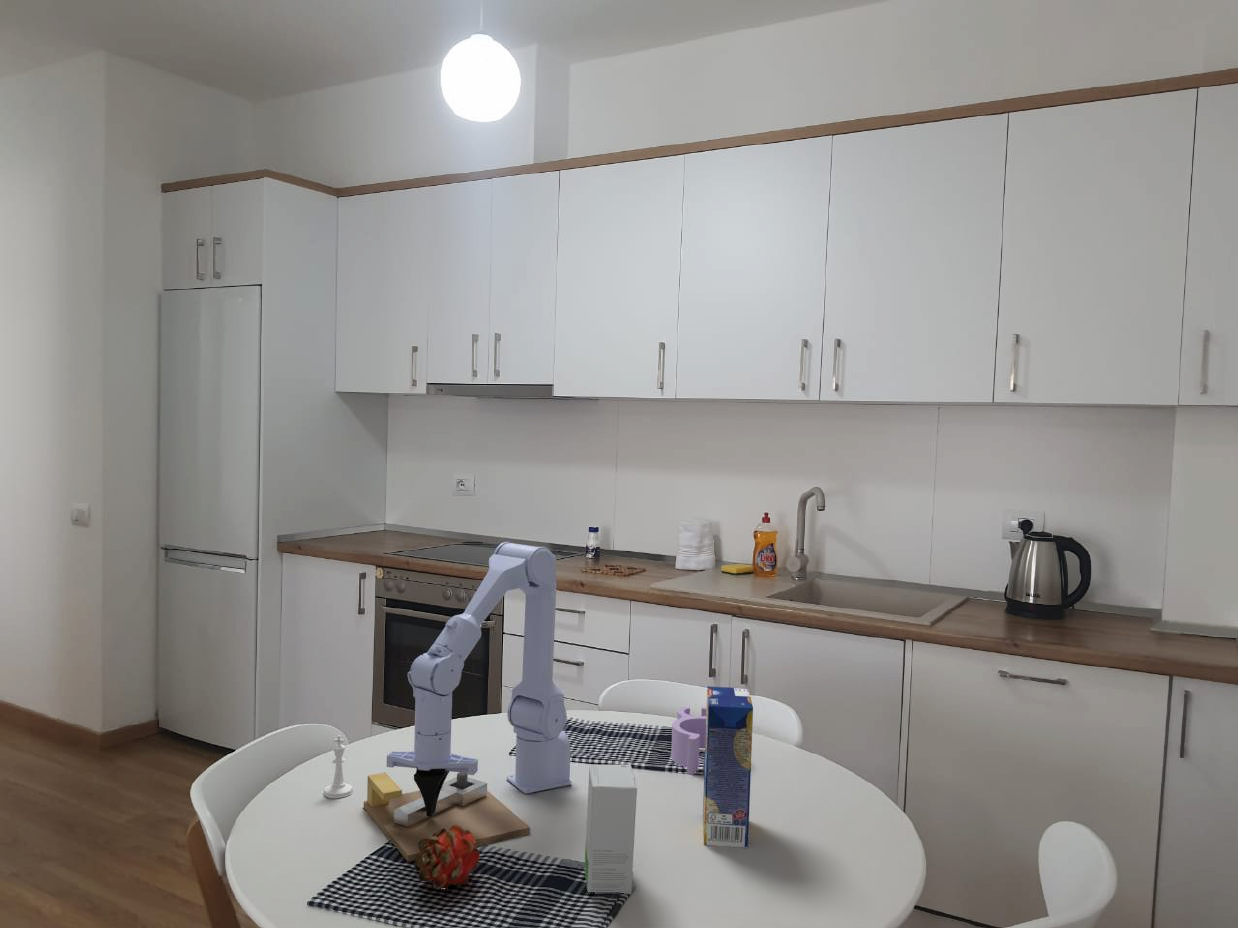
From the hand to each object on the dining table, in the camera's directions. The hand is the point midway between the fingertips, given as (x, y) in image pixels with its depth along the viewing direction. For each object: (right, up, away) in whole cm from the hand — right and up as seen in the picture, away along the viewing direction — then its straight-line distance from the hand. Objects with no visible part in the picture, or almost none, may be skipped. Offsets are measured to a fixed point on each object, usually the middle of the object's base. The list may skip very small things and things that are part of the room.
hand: (430, 813), depth 147 cm
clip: (+46, -2, +36) cm, 59 cm away
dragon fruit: (+6, -3, -17) cm, 18 cm away
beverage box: (+47, -4, +2) cm, 47 cm away
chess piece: (-19, -1, +12) cm, 22 cm away
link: (0, -1, +5) cm, 5 cm away
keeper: (-9, -1, +4) cm, 9 cm away
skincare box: (+29, -4, -16) cm, 33 cm away
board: (+2, -2, +3) cm, 4 cm away
